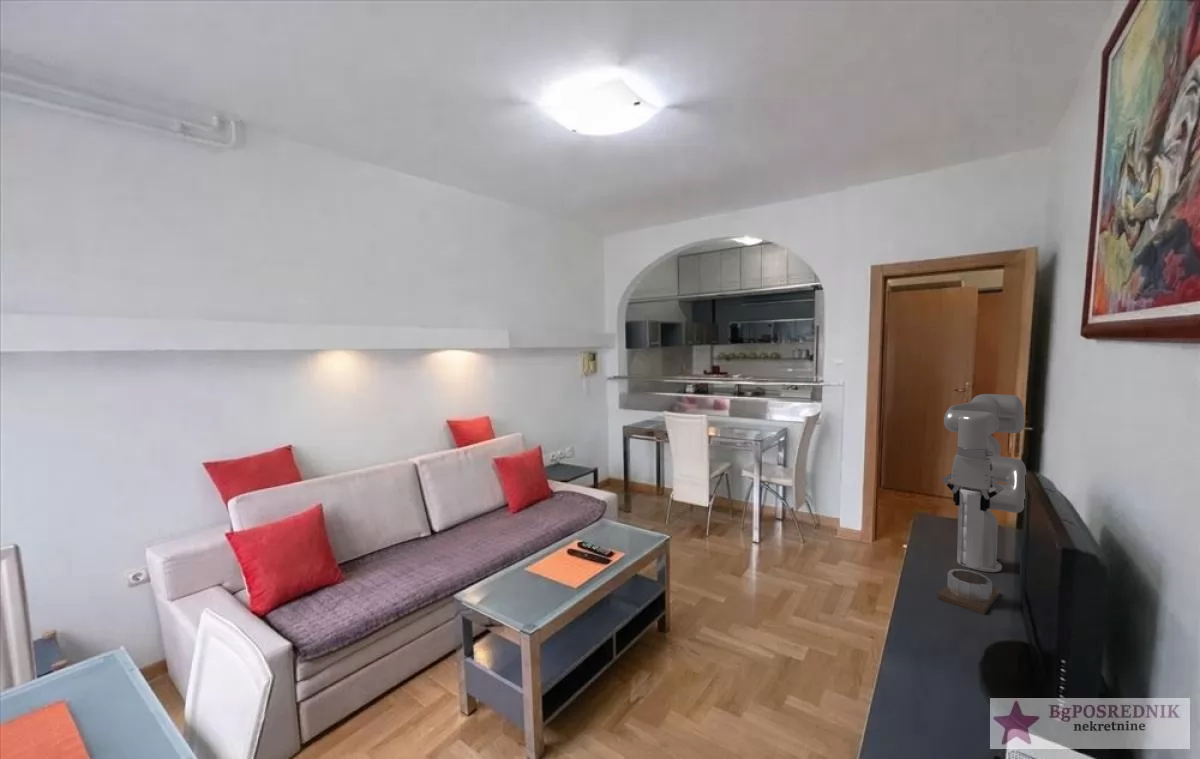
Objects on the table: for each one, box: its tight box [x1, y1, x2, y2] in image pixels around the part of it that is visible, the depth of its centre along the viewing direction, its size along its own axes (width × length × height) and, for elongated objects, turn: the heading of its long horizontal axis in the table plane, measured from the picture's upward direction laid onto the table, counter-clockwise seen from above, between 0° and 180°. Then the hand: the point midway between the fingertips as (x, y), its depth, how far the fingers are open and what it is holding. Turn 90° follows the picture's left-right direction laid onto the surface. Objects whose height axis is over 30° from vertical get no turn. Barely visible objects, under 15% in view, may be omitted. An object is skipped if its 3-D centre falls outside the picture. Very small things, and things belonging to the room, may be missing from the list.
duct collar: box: [937, 568, 1001, 615], centre depth 152 cm, size 18×12×6 cm, turn 128°
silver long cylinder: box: [956, 487, 984, 570], centre depth 151 cm, size 6×6×25 cm
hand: (971, 506), depth 150 cm, fingers closed on silver long cylinder, 6 cm apart
